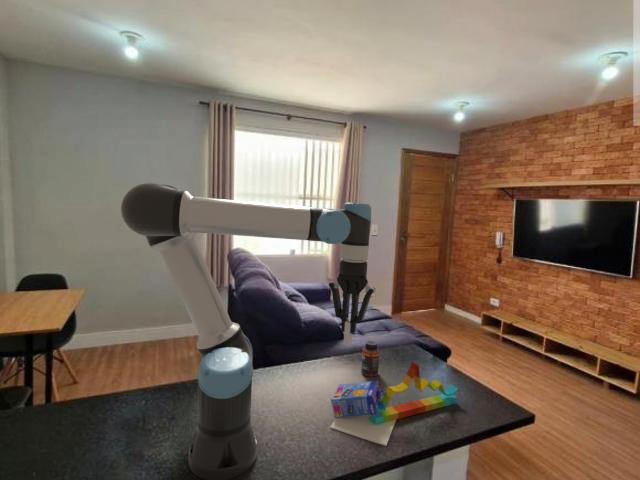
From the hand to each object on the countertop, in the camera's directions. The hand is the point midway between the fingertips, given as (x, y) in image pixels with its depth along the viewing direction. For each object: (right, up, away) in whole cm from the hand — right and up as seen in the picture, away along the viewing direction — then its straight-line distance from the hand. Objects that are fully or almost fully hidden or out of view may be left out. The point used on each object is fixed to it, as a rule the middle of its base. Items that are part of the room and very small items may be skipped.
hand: (347, 343), depth 97 cm
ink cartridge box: (-3, -17, +4) cm, 18 cm away
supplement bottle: (+10, -19, +27) cm, 34 cm away
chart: (+20, -21, +5) cm, 30 cm away
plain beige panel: (+5, -21, 0) cm, 22 cm away
